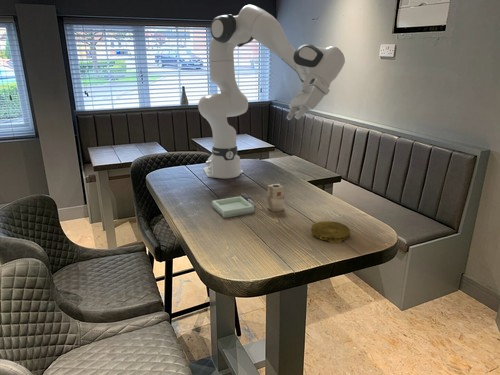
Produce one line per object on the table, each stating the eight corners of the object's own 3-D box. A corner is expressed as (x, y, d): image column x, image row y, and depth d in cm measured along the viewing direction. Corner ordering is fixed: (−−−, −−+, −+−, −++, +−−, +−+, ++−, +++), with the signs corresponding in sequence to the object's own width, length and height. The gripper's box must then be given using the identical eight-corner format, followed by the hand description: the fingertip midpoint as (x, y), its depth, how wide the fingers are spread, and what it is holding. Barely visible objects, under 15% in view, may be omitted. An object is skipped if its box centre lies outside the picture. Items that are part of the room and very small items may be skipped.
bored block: (267, 207, 143) (267, 184, 140) (277, 205, 145) (278, 183, 142) (273, 211, 139) (273, 188, 136) (283, 209, 141) (284, 186, 138)
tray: (212, 206, 144) (212, 200, 143) (240, 202, 149) (240, 196, 148) (224, 218, 133) (223, 211, 133) (254, 212, 138) (254, 206, 138)
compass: (336, 247, 113) (337, 240, 113) (304, 235, 121) (304, 229, 120) (356, 234, 122) (356, 228, 121) (324, 224, 129) (324, 218, 129)
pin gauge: (240, 198, 153) (240, 193, 153) (244, 197, 154) (244, 193, 154) (252, 206, 144) (252, 202, 143) (256, 206, 145) (256, 201, 144)
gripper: (298, 85, 147) (277, 114, 147) (318, 78, 127) (294, 112, 127) (310, 95, 148) (289, 124, 148) (331, 90, 129) (308, 123, 129)
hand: (292, 118), depth 138 cm, fingers open, 8 cm apart
